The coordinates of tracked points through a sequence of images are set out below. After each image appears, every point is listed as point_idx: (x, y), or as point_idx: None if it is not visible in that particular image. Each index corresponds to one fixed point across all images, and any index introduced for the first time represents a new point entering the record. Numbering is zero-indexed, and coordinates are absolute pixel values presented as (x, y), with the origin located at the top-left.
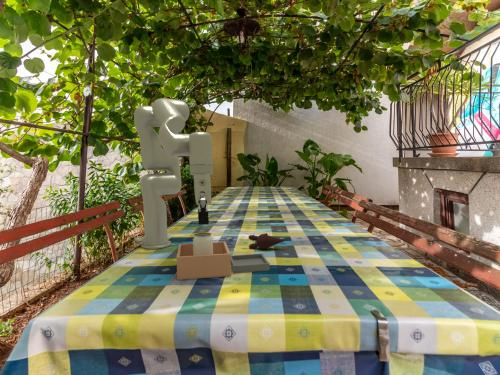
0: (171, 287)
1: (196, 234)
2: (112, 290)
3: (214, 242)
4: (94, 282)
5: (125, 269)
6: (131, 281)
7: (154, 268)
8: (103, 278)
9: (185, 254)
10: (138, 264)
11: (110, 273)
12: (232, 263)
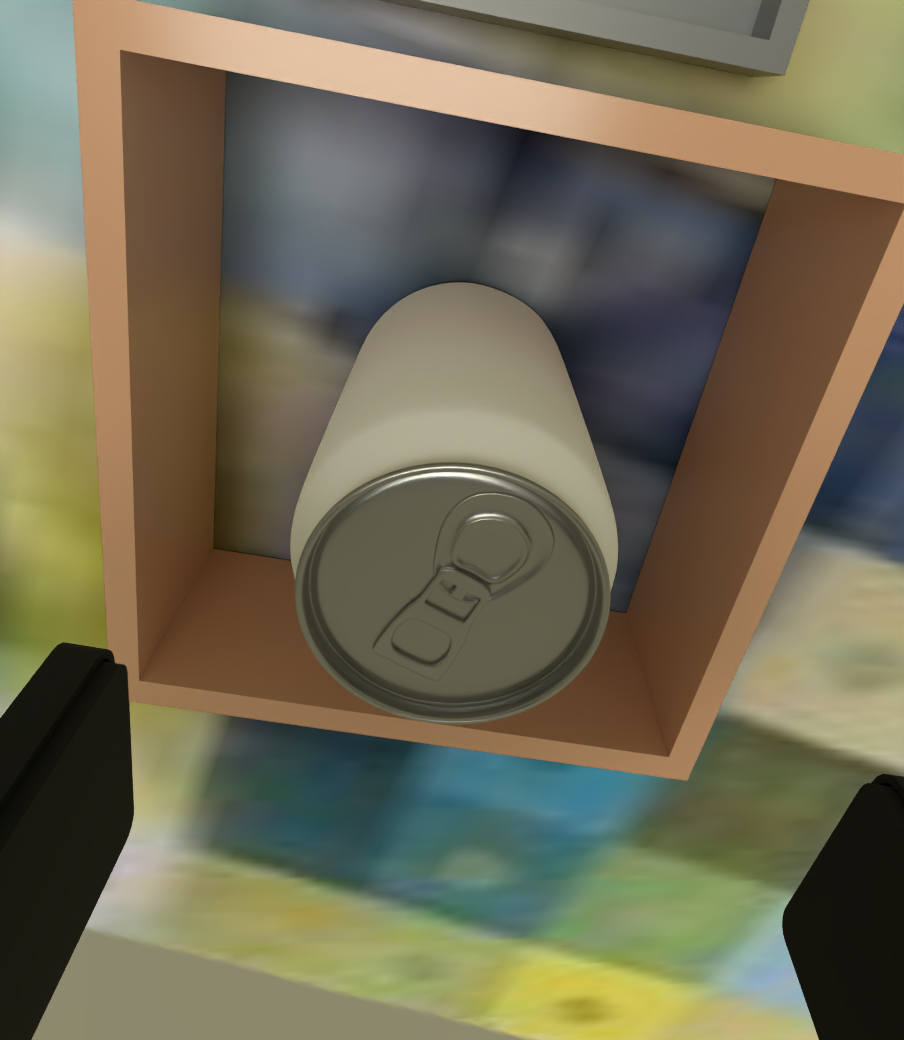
0: (777, 683)
1: (349, 671)
2: (627, 935)
3: (114, 232)
4: (447, 998)
5: (248, 890)
6: (520, 866)
7: (284, 745)
8: (393, 971)
9: (182, 566)
10: (145, 827)
11: (308, 949)
12: (651, 48)
